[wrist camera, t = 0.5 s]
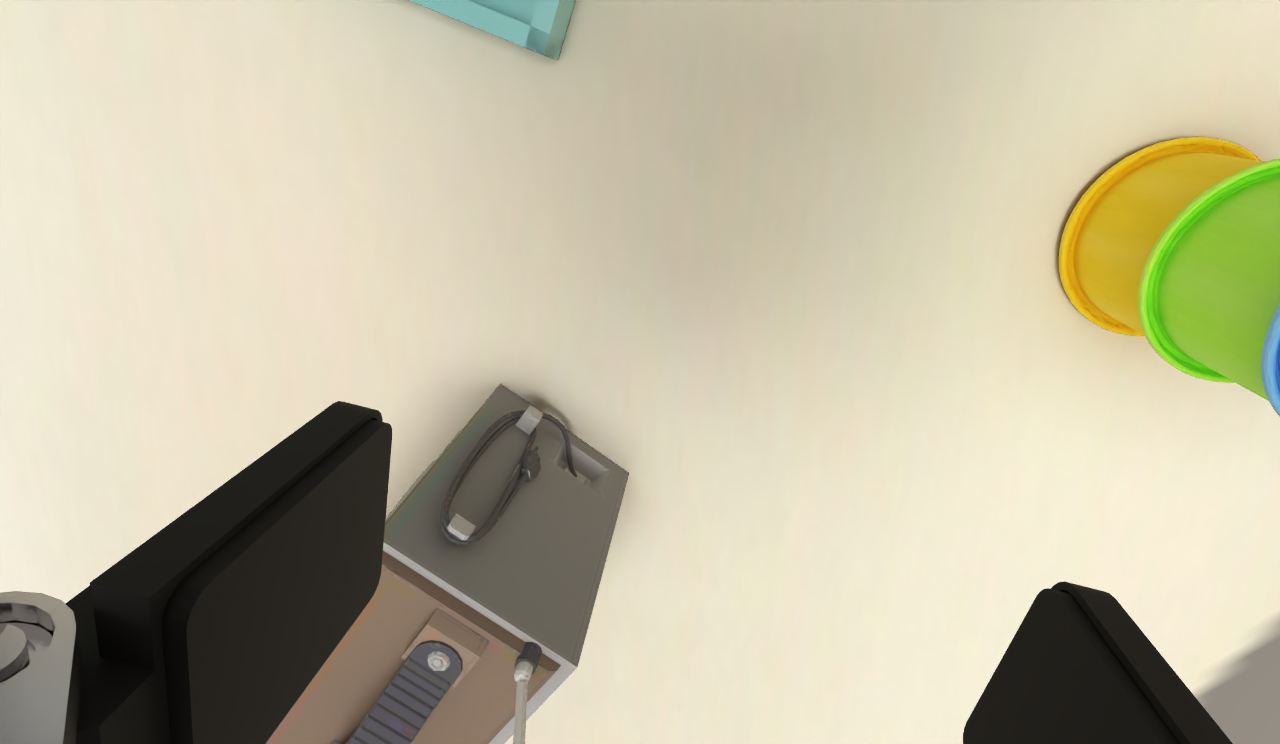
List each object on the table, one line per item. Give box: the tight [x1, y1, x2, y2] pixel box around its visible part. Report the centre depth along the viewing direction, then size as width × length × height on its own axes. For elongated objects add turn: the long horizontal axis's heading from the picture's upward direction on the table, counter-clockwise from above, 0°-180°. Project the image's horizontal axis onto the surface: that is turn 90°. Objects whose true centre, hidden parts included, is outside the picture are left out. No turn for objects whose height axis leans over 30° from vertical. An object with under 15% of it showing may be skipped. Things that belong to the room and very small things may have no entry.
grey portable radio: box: [266, 384, 629, 744], centre depth 33 cm, size 12×24×30 cm, turn 144°
